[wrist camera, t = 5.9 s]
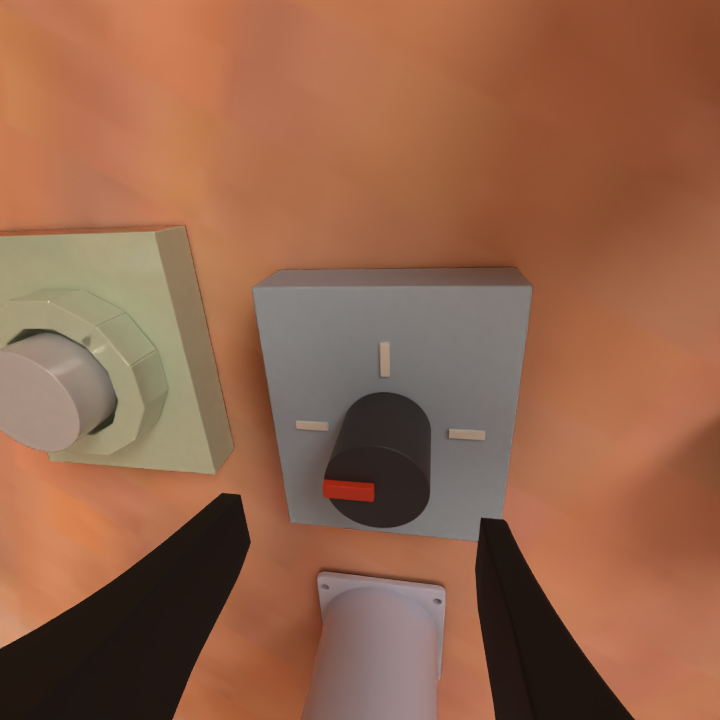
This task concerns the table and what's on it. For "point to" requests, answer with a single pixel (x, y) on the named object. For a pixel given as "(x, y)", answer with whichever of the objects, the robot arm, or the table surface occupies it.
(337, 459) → the lock dial
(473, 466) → the dial panel
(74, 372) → the button
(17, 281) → the button base
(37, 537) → the table surface
